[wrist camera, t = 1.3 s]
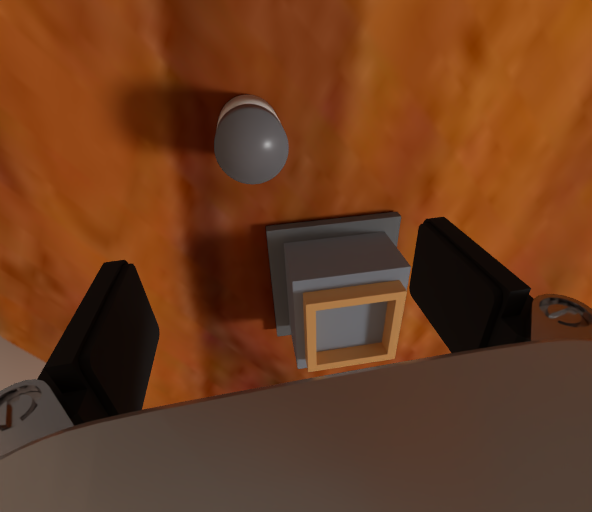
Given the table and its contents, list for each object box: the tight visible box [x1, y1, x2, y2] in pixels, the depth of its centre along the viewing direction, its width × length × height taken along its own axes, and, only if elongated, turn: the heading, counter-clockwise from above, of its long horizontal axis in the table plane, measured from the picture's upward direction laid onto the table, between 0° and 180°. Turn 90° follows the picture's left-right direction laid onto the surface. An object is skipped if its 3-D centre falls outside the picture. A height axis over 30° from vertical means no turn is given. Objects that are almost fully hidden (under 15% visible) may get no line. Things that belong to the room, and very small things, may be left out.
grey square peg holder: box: [266, 212, 411, 372], centre depth 33 cm, size 14×13×8 cm
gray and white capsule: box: [214, 95, 288, 184], centre depth 24 cm, size 5×5×6 cm
